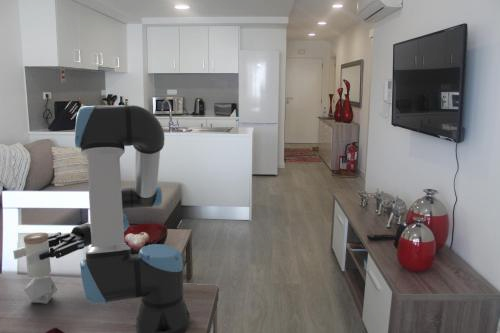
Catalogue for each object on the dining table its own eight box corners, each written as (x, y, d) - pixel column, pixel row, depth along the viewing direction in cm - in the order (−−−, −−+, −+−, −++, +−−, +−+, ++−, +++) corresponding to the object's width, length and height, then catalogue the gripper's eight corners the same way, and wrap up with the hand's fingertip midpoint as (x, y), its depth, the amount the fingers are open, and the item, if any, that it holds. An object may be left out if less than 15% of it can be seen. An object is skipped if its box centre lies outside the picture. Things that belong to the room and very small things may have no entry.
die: (33, 313, 127) (52, 286, 127) (13, 295, 129) (32, 269, 129) (49, 308, 135) (67, 283, 136) (30, 292, 137) (48, 267, 137)
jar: (56, 271, 132) (52, 235, 129) (34, 280, 126) (31, 242, 124) (43, 266, 135) (40, 231, 133) (22, 273, 130) (19, 237, 127)
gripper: (106, 251, 140) (40, 278, 121) (71, 238, 150) (5, 261, 131) (105, 229, 138) (38, 253, 119) (69, 218, 148) (2, 238, 130)
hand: (21, 257), depth 125 cm, fingers closed on jar, 6 cm apart
